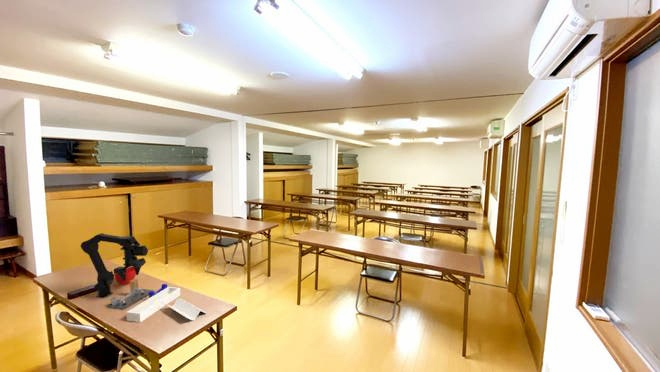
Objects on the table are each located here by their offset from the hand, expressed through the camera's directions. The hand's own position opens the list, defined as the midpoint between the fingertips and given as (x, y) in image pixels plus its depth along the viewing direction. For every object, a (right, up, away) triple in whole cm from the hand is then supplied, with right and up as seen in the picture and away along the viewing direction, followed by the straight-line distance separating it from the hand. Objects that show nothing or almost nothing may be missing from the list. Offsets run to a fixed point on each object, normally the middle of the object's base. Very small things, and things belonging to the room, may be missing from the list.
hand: (131, 278), depth 182 cm
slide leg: (+4, -10, 0) cm, 11 cm away
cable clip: (+18, -12, -1) cm, 22 cm away
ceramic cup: (-19, -10, +19) cm, 28 cm away
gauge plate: (+4, -12, -5) cm, 14 cm away
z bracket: (+47, -15, -18) cm, 52 cm away
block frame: (+25, -13, -13) cm, 31 cm away
